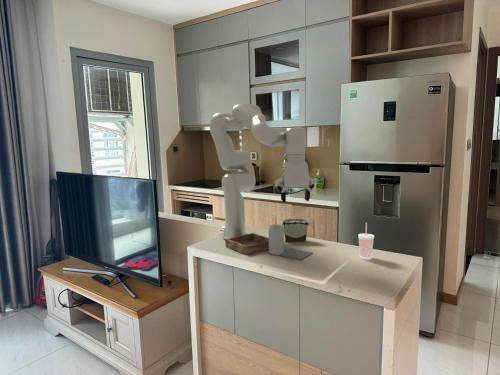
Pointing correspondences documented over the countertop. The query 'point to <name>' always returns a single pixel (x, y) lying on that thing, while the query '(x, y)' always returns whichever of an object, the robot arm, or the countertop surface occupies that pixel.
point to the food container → (295, 230)
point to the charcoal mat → (296, 254)
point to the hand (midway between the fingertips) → (295, 201)
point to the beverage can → (276, 239)
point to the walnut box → (237, 246)
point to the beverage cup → (365, 245)
